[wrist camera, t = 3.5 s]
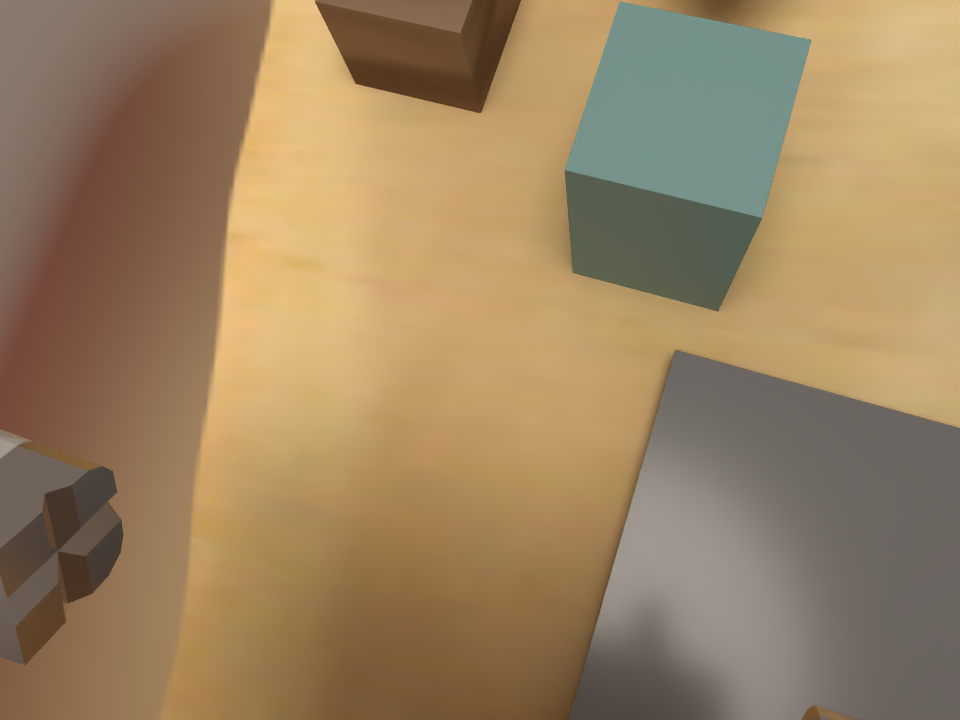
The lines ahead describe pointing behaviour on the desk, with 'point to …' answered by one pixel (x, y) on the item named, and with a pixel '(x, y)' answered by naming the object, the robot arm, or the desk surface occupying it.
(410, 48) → the walnut block
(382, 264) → the desk surface
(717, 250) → the teal block
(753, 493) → the charcoal tile
